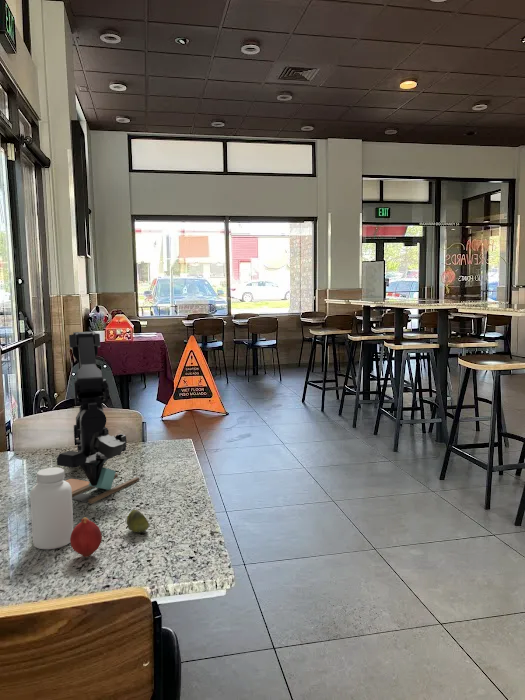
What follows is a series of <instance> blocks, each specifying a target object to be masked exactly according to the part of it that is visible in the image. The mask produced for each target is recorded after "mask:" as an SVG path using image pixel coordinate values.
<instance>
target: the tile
mask: <svg viewBox="0 0 525 700" xmlns="http://www.w3.org/2000/svg"><path fill="white" fill-rule="evenodd" d="M65 481H66V482H68V483H69V484H70V486H71V489H72V492H74V491H76V490H79V489H81V488H83V487H85V486H88V485H89V480H88V481H87V480H81V479H77V478H69V479H66V480H65Z"/></svg>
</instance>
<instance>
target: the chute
mask: <svg viewBox="0 0 525 700" xmlns="http://www.w3.org/2000/svg"><path fill="white" fill-rule="evenodd" d="M118 476H119V475H118V473H115V476H114V479H116V478H118ZM139 481H140V477H137V476H136V477H133V478H131V479H130V480H127V481H125V482H122V483H120V484H118V485H116V486H115V487H113V488H112V487H111V489H110V490H106V491H104V492H101V493H99V494H98V495H95V494H94V495H93V494H88V493H85V492H87V491H89V490H92V489H93V488H95V487H92V486H89V485H88V486H85V487H83V488H81V489H79V490H76V491H74V492H72V501H77V502H82V503H87V504H94V503H97V502H98V501H100V500H103V499H104V498H106V497H108V496H110V495H112V494H115V493H116V492H118V491H121V490H123V489H124V488H127V487H129V486H130V485H133V484H135V483H137V482H139Z"/></svg>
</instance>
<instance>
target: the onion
mask: <svg viewBox="0 0 525 700" xmlns="http://www.w3.org/2000/svg"><path fill="white" fill-rule="evenodd" d="M80 520H81V521H80V522H79V523H78V524H76V525H75V526H74V527H73V531H72V534H71V537H70V543H69V544H70V546H71V548H72V550H73V551H74V552H75V553H77V554H78V555H81V556H82V557H84V558H89V557H90V556H91V555H93V553H95V552H96V551H97V550H98V549H99V547H100V546H101V544H102V539H103V535H102V530H101V529H100V527H99V526H98V525H97V524H96V523H95V522H94V521H92V520H89V518H88V517H83V518H82V519H80Z"/></svg>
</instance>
